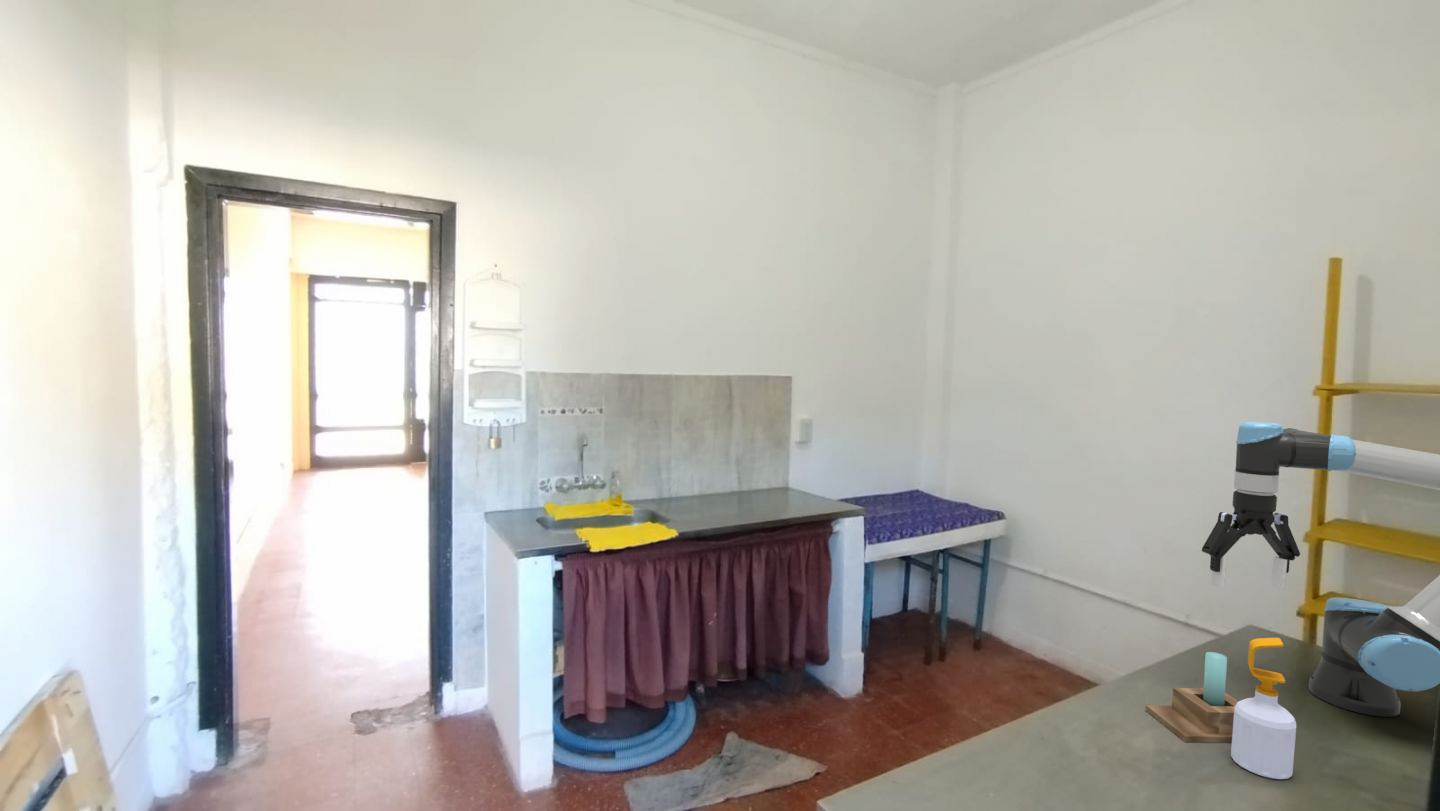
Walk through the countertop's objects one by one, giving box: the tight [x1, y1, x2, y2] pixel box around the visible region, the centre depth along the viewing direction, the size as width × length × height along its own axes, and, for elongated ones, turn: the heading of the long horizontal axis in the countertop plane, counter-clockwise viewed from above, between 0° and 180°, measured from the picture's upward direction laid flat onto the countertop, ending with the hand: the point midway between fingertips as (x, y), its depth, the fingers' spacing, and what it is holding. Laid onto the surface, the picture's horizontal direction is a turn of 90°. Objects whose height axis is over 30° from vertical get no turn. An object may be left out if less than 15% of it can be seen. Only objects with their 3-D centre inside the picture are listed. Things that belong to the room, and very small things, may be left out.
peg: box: [1203, 651, 1228, 706], centre depth 138 cm, size 4×4×14 cm
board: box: [1145, 687, 1240, 744], centre depth 138 cm, size 20×12×6 cm, turn 91°
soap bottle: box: [1230, 637, 1297, 780], centre depth 124 cm, size 9×9×25 cm
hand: (1247, 586), depth 147 cm, fingers open, 13 cm apart
